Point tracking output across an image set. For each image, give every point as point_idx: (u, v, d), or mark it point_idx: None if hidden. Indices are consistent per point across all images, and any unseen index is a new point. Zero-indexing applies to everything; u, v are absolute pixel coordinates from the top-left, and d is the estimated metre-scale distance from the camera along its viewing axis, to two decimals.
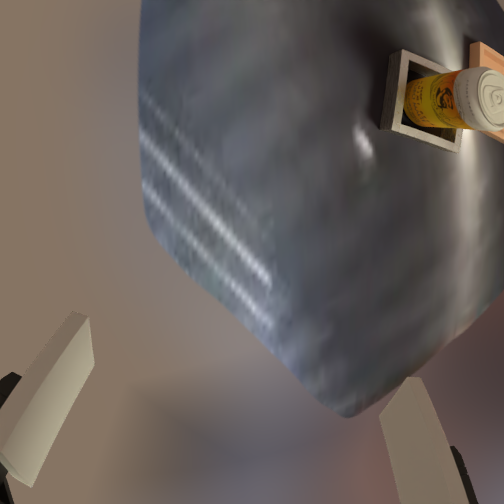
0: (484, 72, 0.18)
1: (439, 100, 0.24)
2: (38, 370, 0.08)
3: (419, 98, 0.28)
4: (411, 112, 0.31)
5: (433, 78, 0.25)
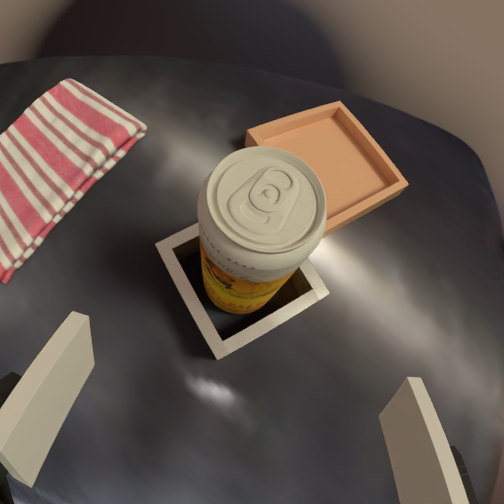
0: (208, 182, 0.14)
1: (219, 281, 0.18)
2: (38, 370, 0.08)
3: (213, 290, 0.22)
4: (229, 309, 0.24)
5: None
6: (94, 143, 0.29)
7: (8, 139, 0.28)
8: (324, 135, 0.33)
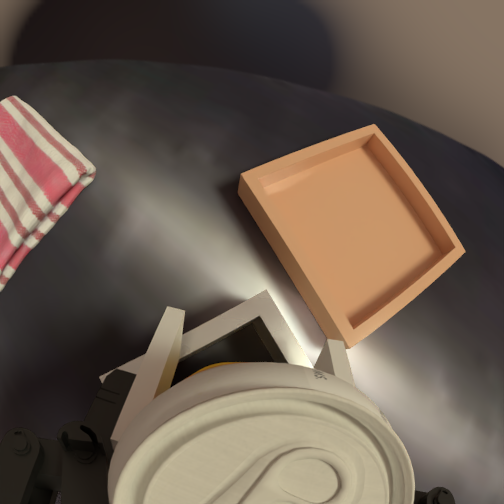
0: (115, 500, 0.04)
1: None
2: (153, 363, 0.10)
3: None
4: None
5: None
6: (26, 195, 0.19)
7: None
8: (353, 176, 0.23)
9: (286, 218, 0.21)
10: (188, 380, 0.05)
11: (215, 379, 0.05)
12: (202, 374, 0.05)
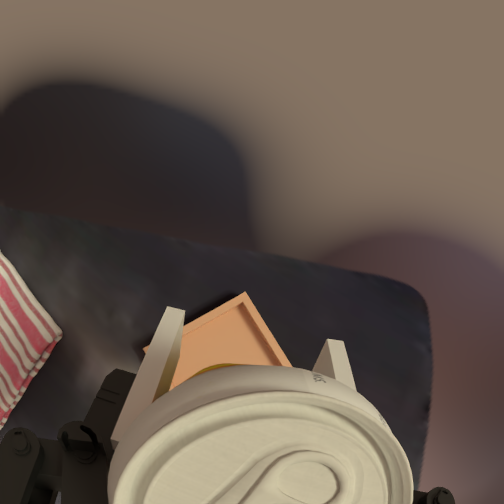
0: (115, 502, 0.04)
1: None
2: (153, 363, 0.10)
3: None
4: None
5: None
6: (23, 345, 0.30)
7: None
8: (225, 334, 0.34)
9: None
10: (188, 383, 0.05)
11: (214, 382, 0.05)
12: (201, 377, 0.05)
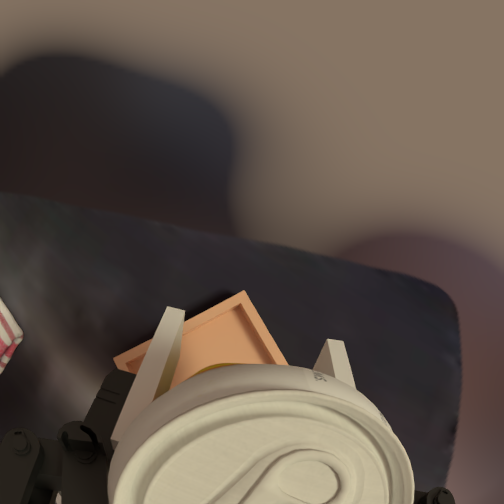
0: (115, 502, 0.04)
1: None
2: (153, 363, 0.10)
3: None
4: None
5: None
6: None
7: None
8: (217, 344, 0.27)
9: None
10: (188, 382, 0.05)
11: (215, 381, 0.05)
12: (202, 376, 0.05)
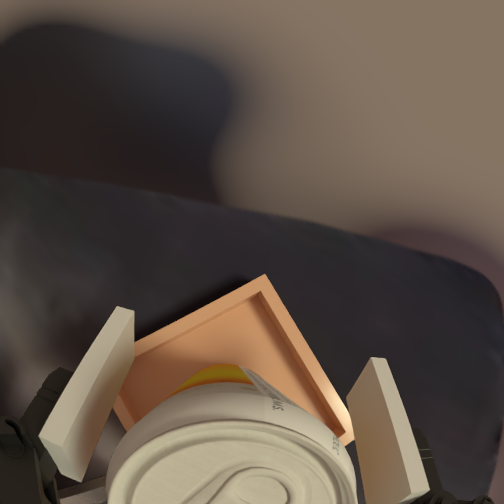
0: (109, 499, 0.05)
1: None
2: (91, 364, 0.09)
3: None
4: None
5: None
6: None
7: None
8: (229, 345, 0.20)
9: (144, 401, 0.18)
10: (168, 405, 0.06)
11: (188, 407, 0.06)
12: (179, 401, 0.06)
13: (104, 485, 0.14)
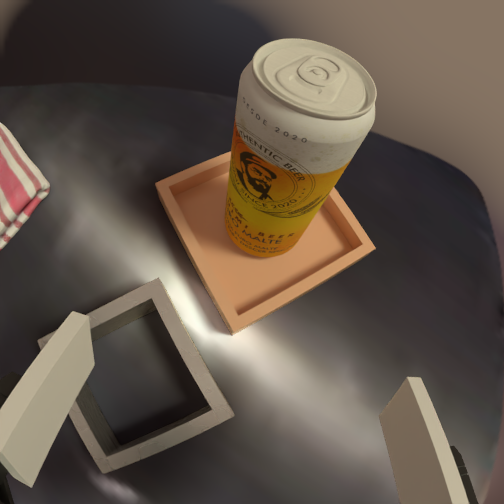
0: (254, 57, 0.11)
1: (253, 188, 0.16)
2: (38, 370, 0.08)
3: (239, 217, 0.20)
4: (255, 247, 0.22)
5: (229, 169, 0.18)
6: None
7: None
8: None
9: (195, 219, 0.25)
10: None
11: None
12: None
13: None
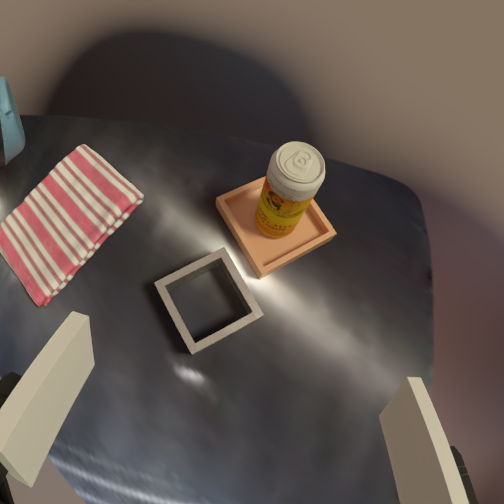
0: (276, 155, 0.32)
1: (273, 205, 0.37)
2: (38, 370, 0.08)
3: (265, 217, 0.41)
4: (271, 232, 0.43)
5: (260, 194, 0.40)
6: (106, 207, 0.43)
7: (39, 194, 0.43)
8: None
9: (237, 218, 0.46)
10: None
11: None
12: None
13: (220, 249, 0.41)
